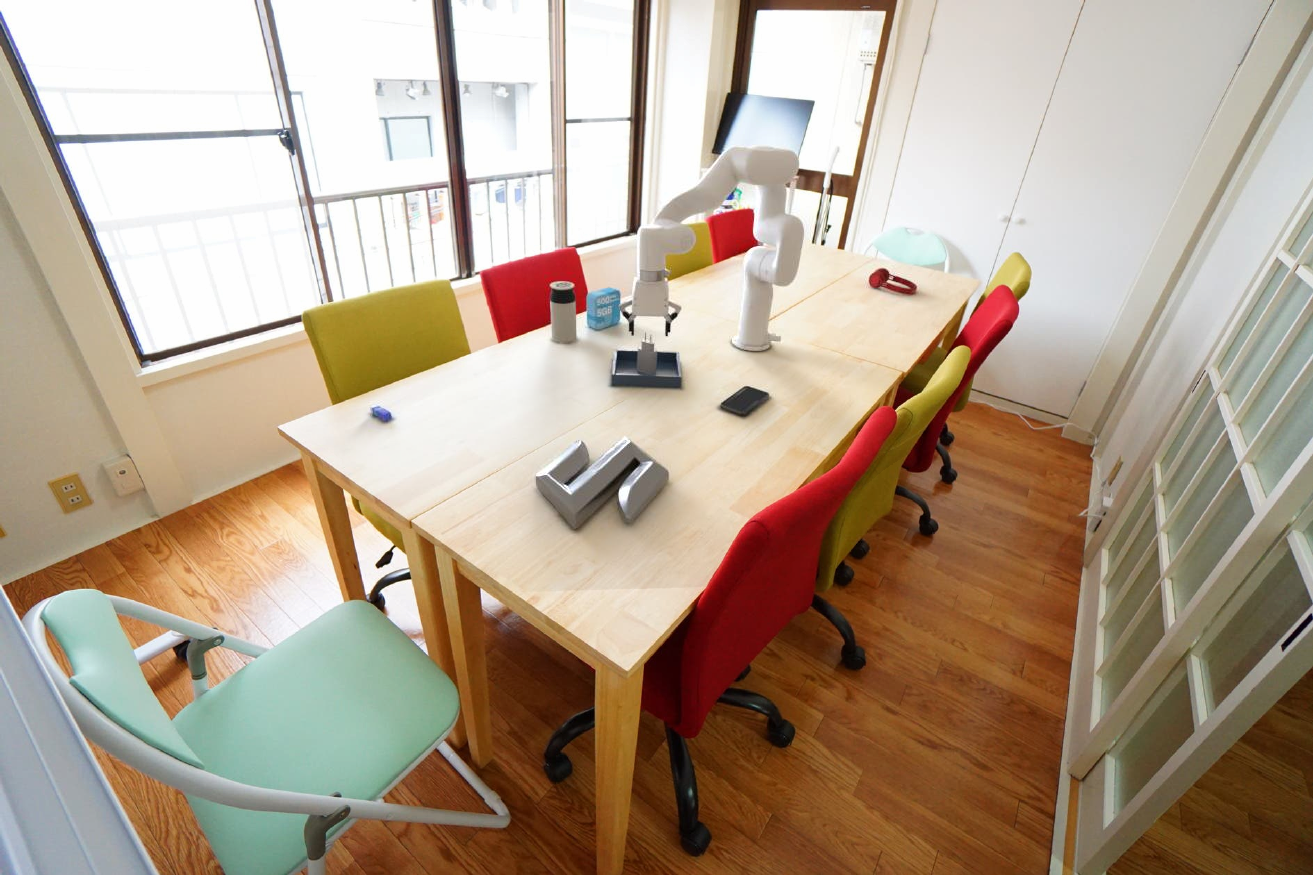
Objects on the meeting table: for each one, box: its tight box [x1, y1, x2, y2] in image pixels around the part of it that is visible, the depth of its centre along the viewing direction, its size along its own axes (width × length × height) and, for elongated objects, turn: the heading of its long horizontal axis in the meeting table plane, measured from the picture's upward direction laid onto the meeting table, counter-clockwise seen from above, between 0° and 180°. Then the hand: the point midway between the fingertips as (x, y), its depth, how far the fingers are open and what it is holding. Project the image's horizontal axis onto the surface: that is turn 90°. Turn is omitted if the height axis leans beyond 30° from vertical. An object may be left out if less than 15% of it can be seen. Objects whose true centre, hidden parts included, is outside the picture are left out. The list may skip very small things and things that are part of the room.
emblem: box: [535, 436, 670, 530], centre depth 121 cm, size 28×5×28 cm
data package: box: [586, 286, 621, 331], centre depth 199 cm, size 12×4×12 cm, turn 138°
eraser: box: [369, 404, 393, 422], centre depth 142 cm, size 2×6×2 cm, turn 53°
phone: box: [720, 385, 770, 417], centre depth 157 cm, size 8×1×15 cm
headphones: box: [868, 267, 918, 295], centre depth 255 cm, size 15×7×20 cm
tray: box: [610, 348, 683, 389], centre depth 169 cm, size 20×18×4 cm
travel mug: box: [549, 280, 577, 344], centre depth 185 cm, size 8×8×18 cm
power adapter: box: [637, 332, 658, 375], centre depth 167 cm, size 3×5×12 cm, turn 55°
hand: (649, 334), depth 164 cm, fingers open, 9 cm apart
